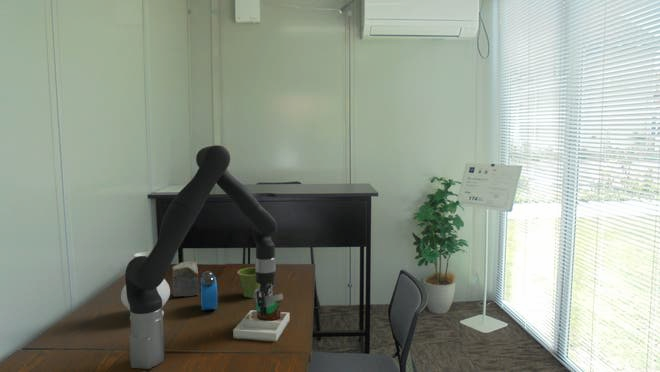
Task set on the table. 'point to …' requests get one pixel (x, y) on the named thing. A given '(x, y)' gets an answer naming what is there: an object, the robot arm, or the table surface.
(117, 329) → the table surface
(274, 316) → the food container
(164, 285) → the decorative vase
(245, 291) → the plant pot
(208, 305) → the alarm clock
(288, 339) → the table surface
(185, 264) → the geological specimen
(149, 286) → the robot arm
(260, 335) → the tray
